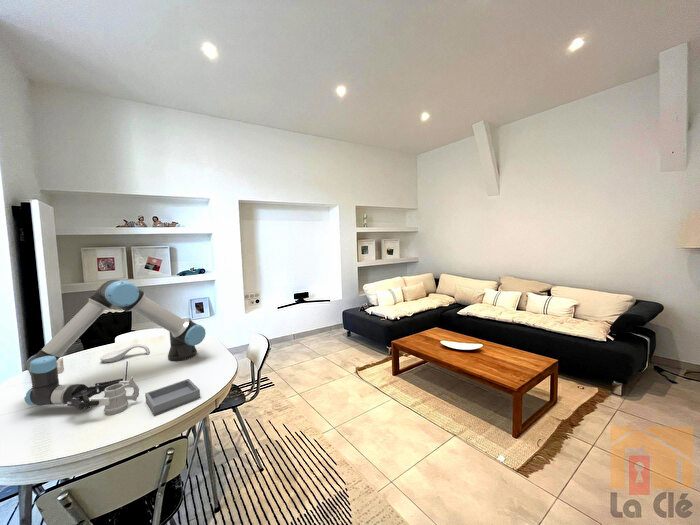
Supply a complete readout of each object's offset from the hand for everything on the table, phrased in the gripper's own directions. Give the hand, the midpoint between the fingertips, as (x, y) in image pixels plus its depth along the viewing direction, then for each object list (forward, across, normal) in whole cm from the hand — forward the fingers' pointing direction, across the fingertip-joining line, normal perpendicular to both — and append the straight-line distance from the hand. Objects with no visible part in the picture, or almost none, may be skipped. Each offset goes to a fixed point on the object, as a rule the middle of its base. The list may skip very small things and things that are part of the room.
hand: (122, 392), depth 116 cm
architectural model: (-64, -38, -8) cm, 75 cm away
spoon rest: (-42, -55, -7) cm, 70 cm away
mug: (-1, 0, -7) cm, 7 cm away
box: (+18, -5, -7) cm, 20 cm away
